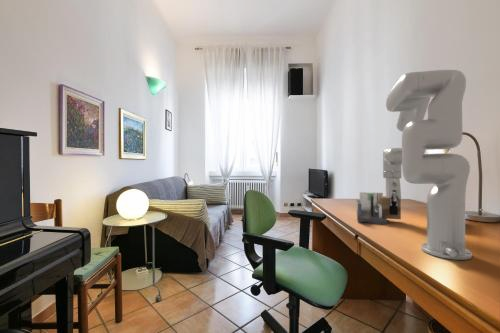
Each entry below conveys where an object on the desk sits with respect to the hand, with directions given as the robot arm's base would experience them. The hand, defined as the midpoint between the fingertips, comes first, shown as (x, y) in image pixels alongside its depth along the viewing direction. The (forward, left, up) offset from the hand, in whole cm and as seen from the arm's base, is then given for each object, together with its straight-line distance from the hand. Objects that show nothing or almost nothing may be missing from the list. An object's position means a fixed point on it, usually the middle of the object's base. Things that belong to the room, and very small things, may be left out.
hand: (392, 213), depth 117 cm
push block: (0, +1, -2) cm, 3 cm away
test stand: (0, +9, -4) cm, 10 cm away
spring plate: (0, +6, -2) cm, 7 cm away
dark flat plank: (+3, +8, -3) cm, 9 cm away
